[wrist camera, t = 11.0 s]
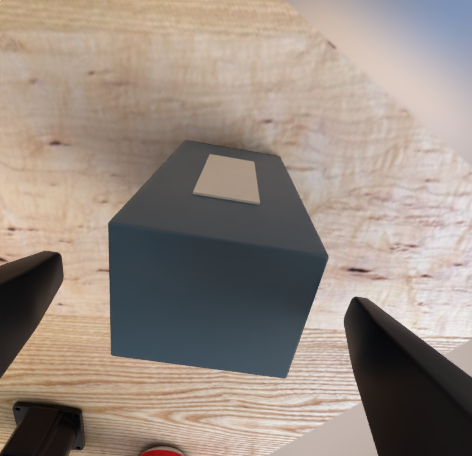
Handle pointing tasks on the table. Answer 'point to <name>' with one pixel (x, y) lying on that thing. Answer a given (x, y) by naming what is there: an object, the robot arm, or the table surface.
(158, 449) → the beverage can
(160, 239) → the tissue box
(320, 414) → the table surface
